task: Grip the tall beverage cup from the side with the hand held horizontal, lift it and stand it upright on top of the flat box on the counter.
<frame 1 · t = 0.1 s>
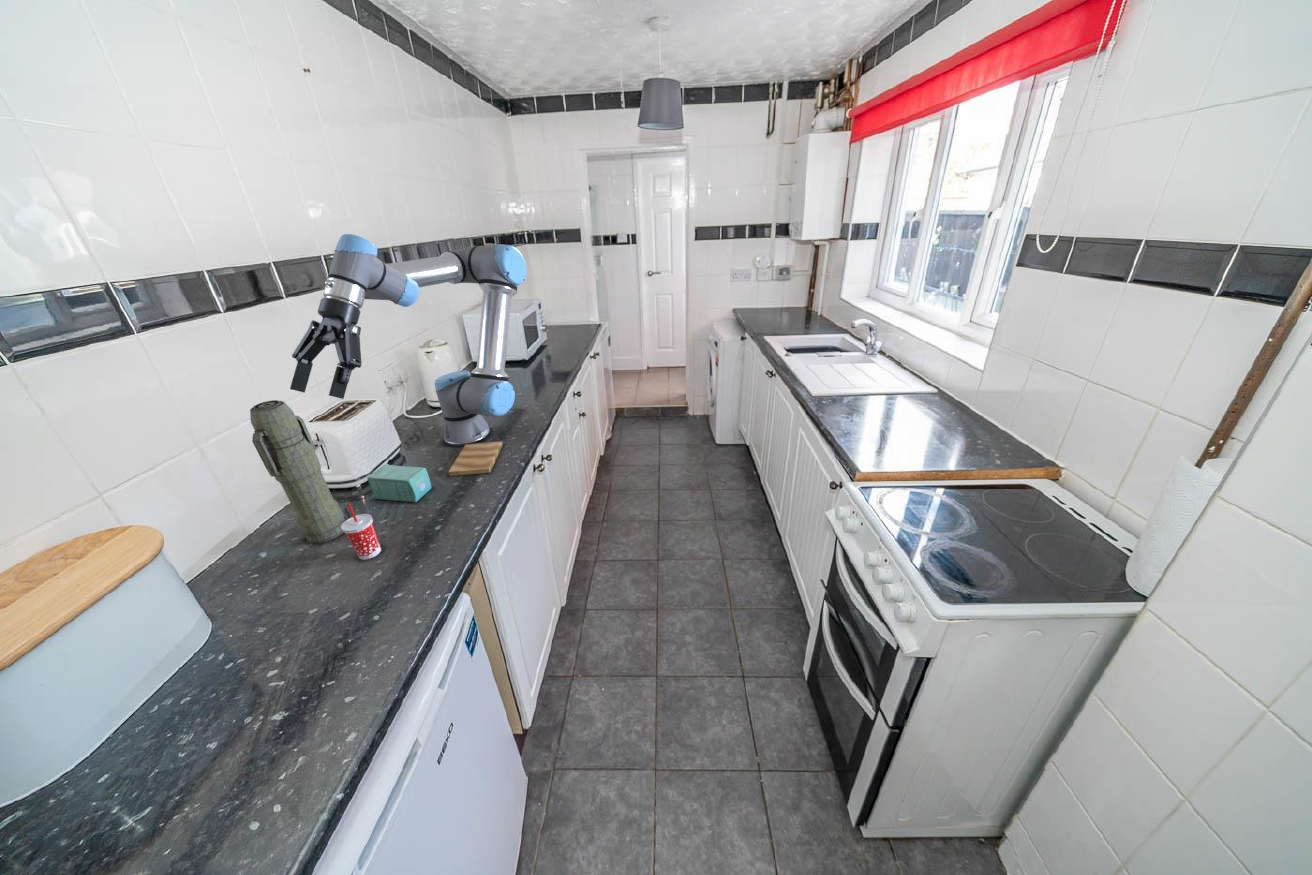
hand: (316, 394, 100), 36 cm above the worktop, tool tilted 35°, fingers open, 13 cm apart
thermos: (328, 532, 114), on the worktop
box: (404, 494, 129), on the worktop
beverage cup: (370, 553, 106), on the worktop
chopping board: (477, 459, 144), on the worktop
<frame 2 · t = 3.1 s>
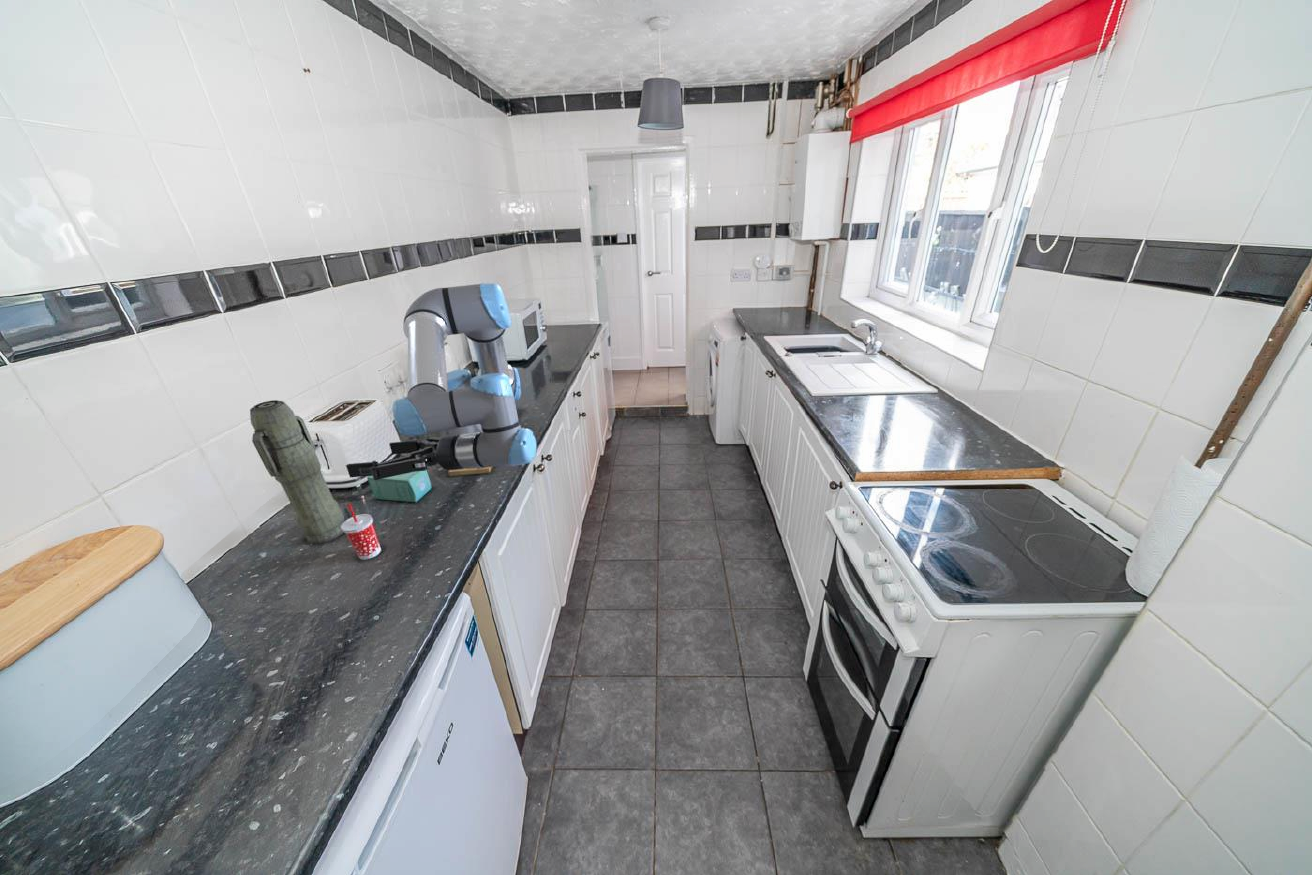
hand: (371, 458, 99), 23 cm above the worktop, tool horizontal, fingers open, 13 cm apart
nothing on the worktop moved.
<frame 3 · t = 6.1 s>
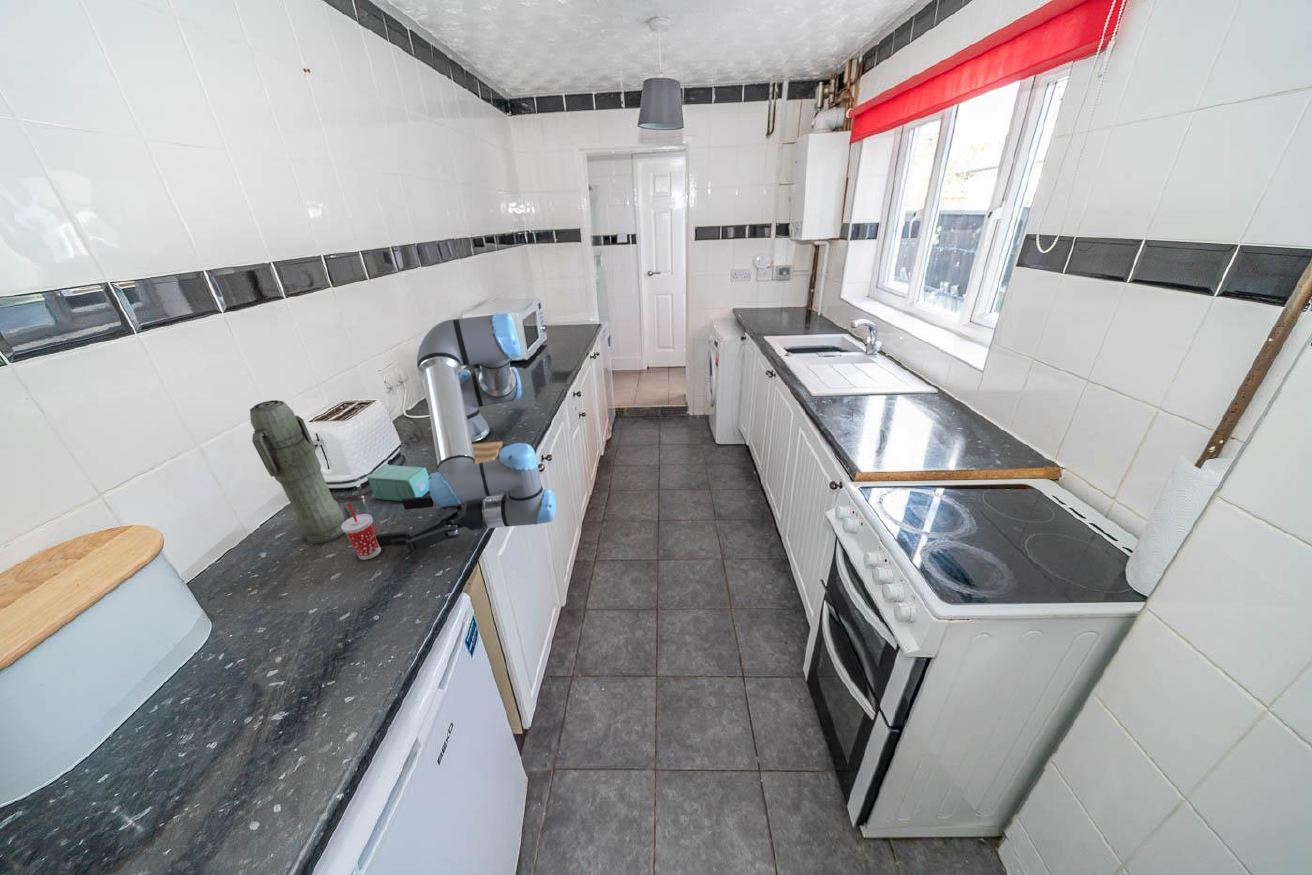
hand: (391, 521, 103), 8 cm above the worktop, tool horizontal, fingers open, 13 cm apart
nothing on the worktop moved.
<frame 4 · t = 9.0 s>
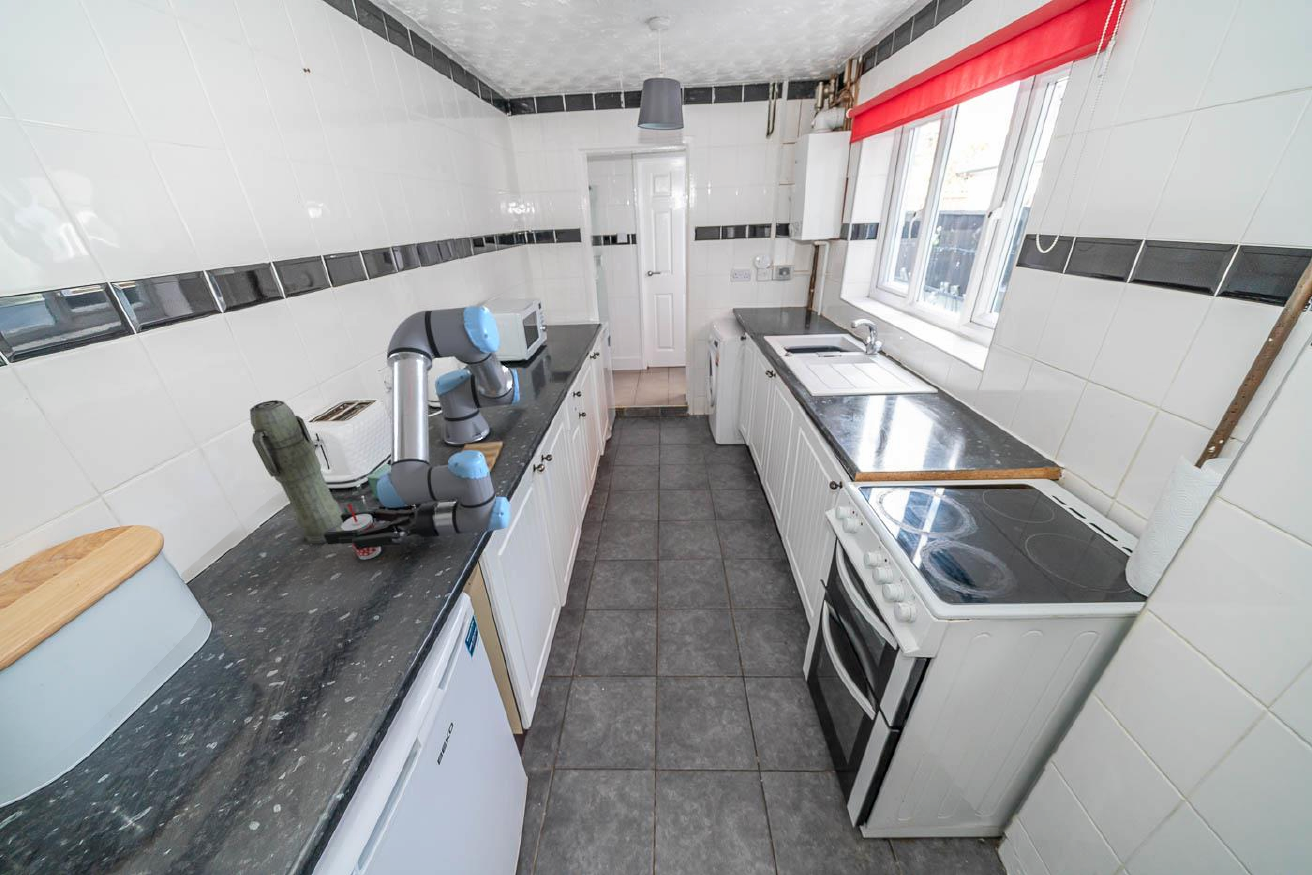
hand: (335, 528, 103), 8 cm above the worktop, tool horizontal, fingers closed on beverage cup, 6 cm apart
beverage cup: (370, 553, 106), on the worktop, touching gripper
everything else where it was.
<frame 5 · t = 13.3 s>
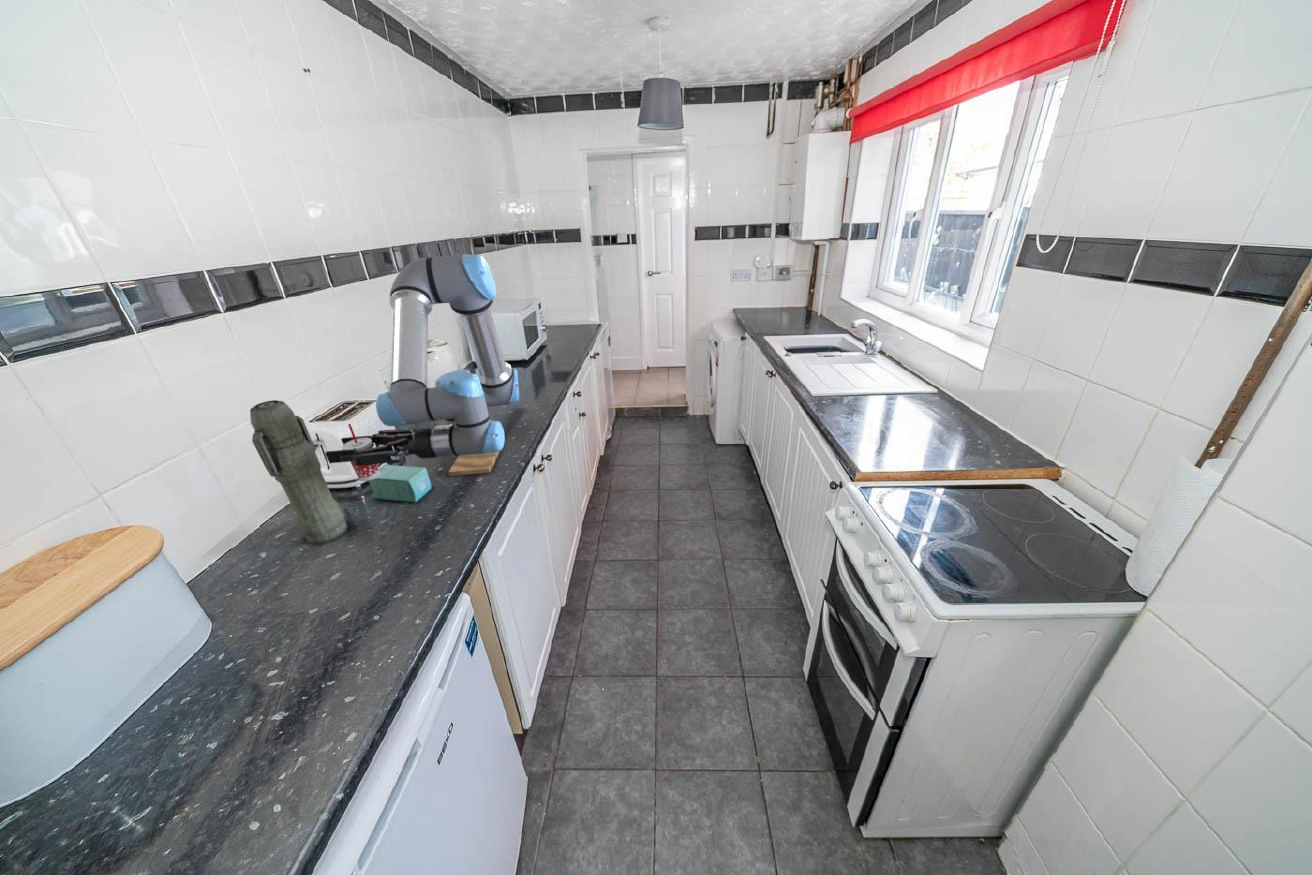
hand: (336, 450, 107), 22 cm above the worktop, tool horizontal, fingers closed on beverage cup, 6 cm apart
beverage cup: (370, 476, 111), point 14 cm above the worktop, touching gripper
everything else where it was.
when the fingers open (15 cm above the worktop, at t = 17.4 s): beverage cup stays where it is, resting on box.
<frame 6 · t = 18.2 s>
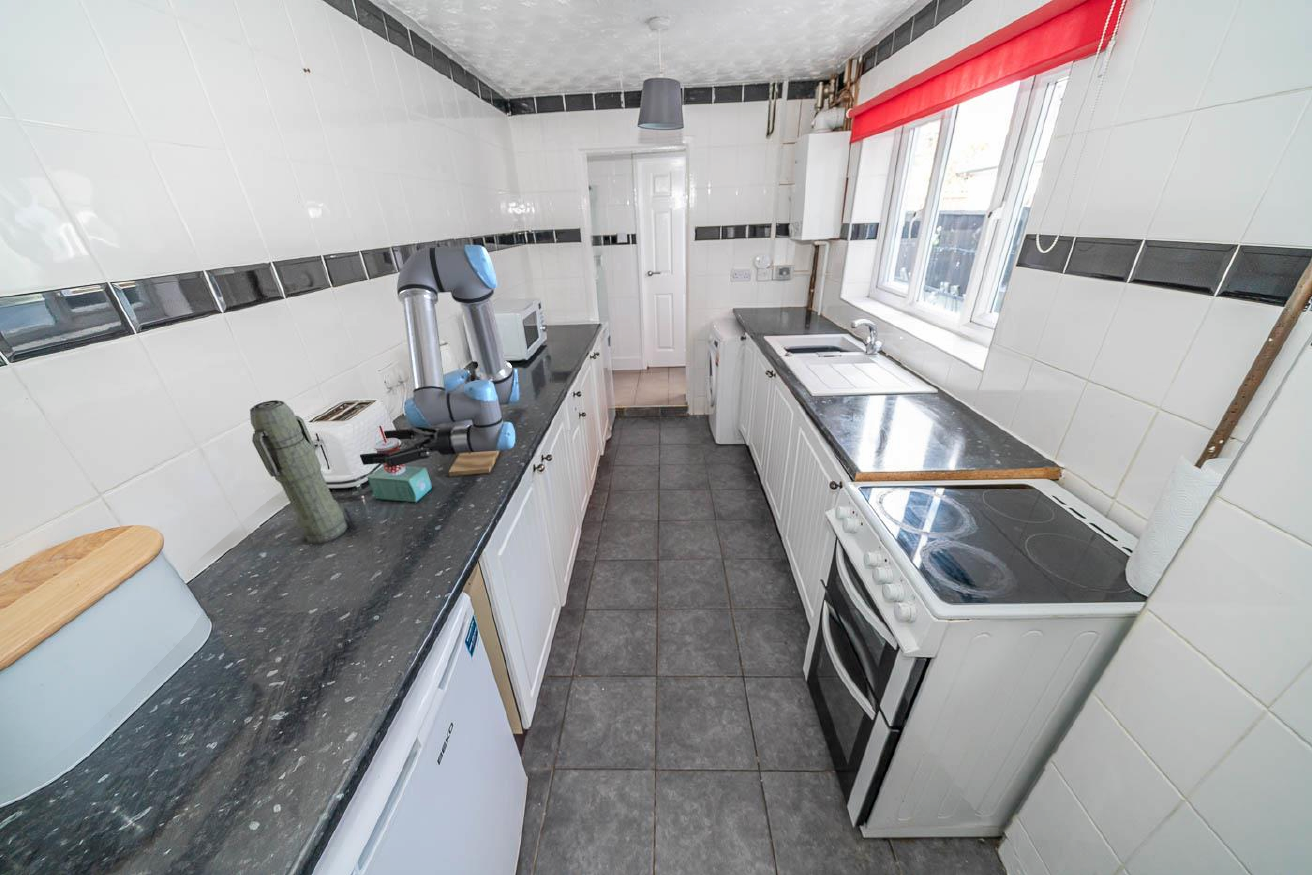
hand: (374, 447, 121), 16 cm above the worktop, tool horizontal, fingers open, 13 cm apart
box: (405, 494, 129), on the worktop, touching beverage cup
beverage cup: (396, 472, 125), point 7 cm above the worktop, touching box
everything else where it was.
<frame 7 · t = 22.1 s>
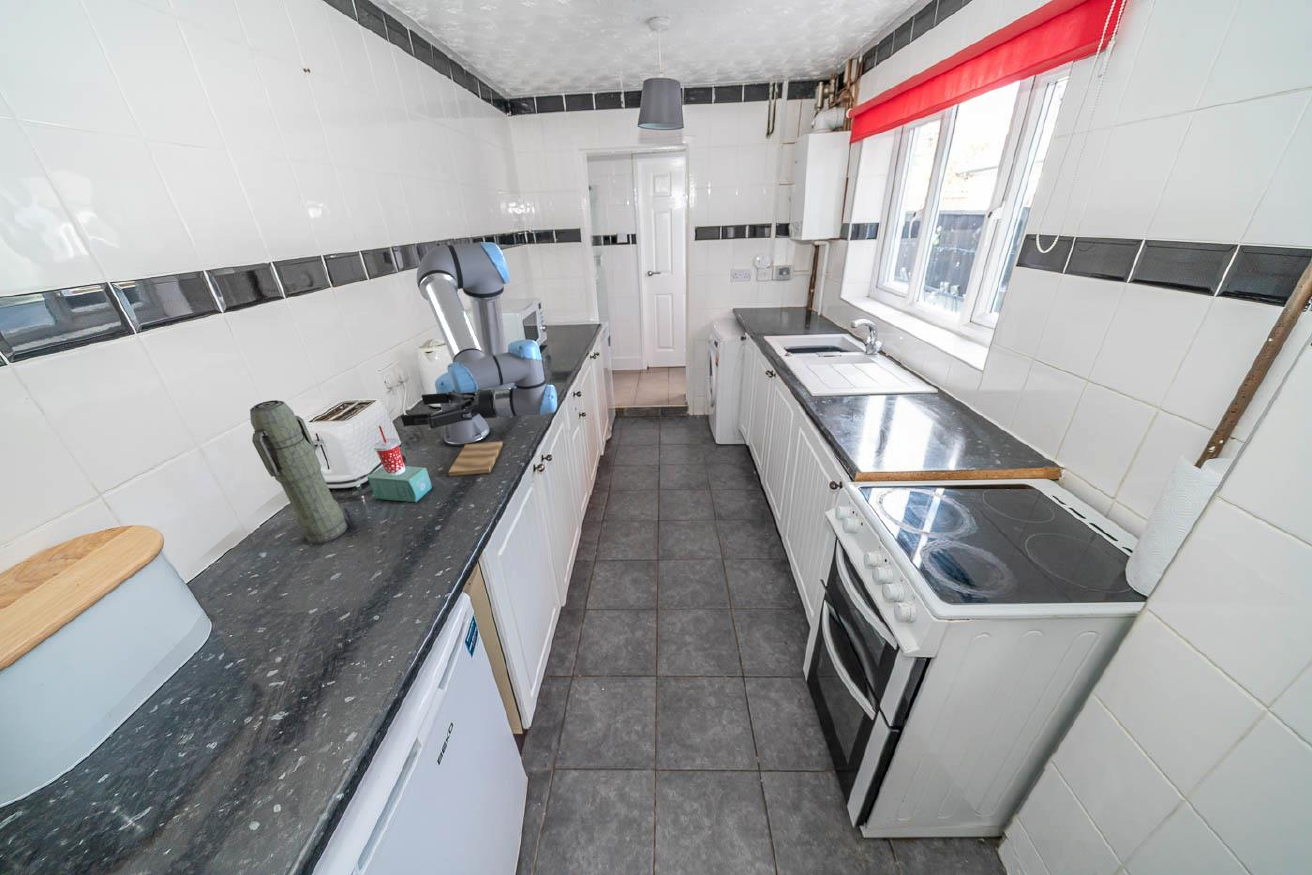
hand: (413, 409, 118), 25 cm above the worktop, tool horizontal, fingers open, 13 cm apart
box: (405, 494, 129), on the worktop
beverage cup: (396, 472, 125), point 7 cm above the worktop
everything else where it was.
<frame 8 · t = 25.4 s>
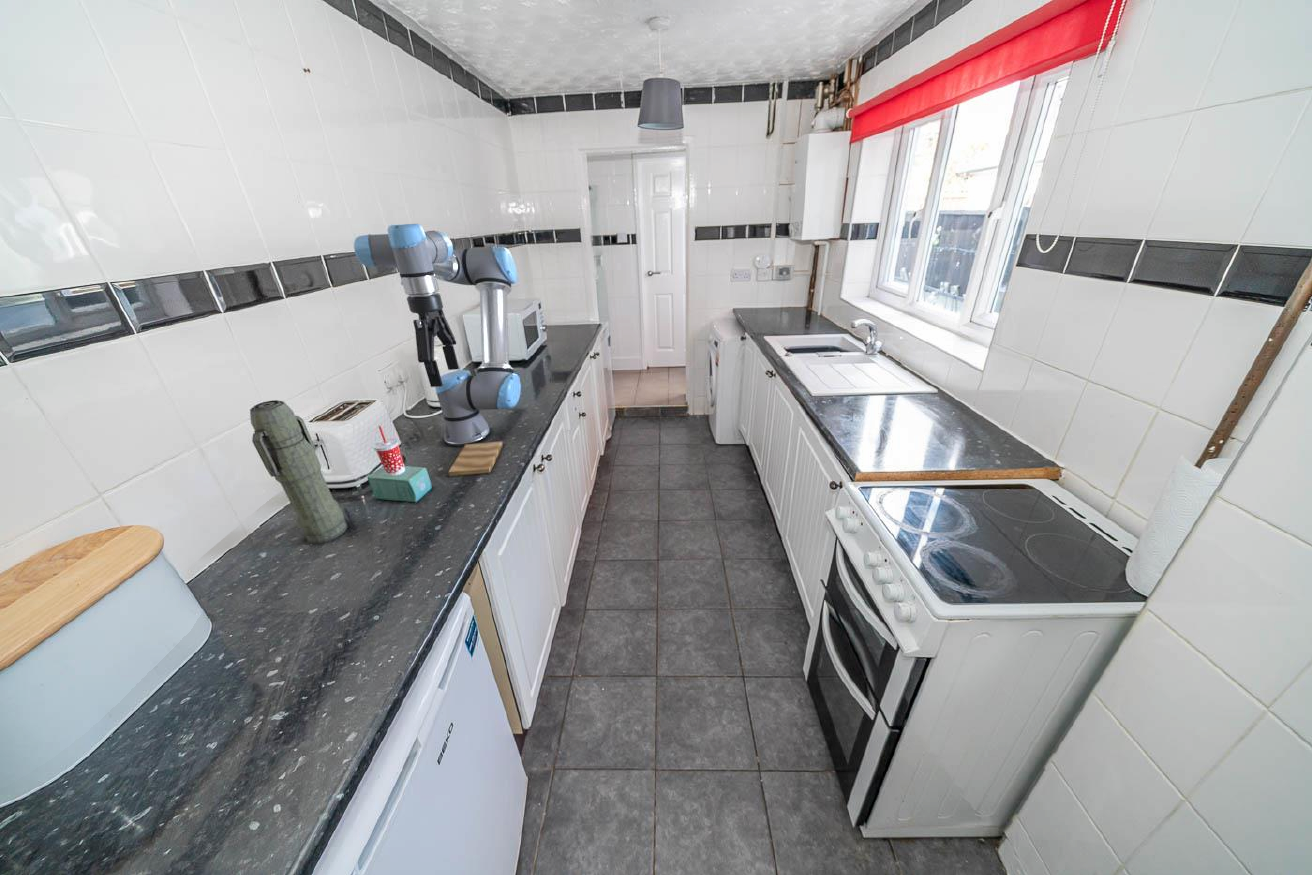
hand: (445, 377, 120), 32 cm above the worktop, tool pointing down, fingers open, 13 cm apart
box: (405, 494, 129), on the worktop, touching beverage cup
beverage cup: (396, 472, 125), point 7 cm above the worktop, touching box
everything else where it was.
at the end: beverage cup inside the target area on the box (0.2 cm from its centre), point 7.5 cm above the box's base; beverage cup tilted 0°; the gripper is holding nothing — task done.
